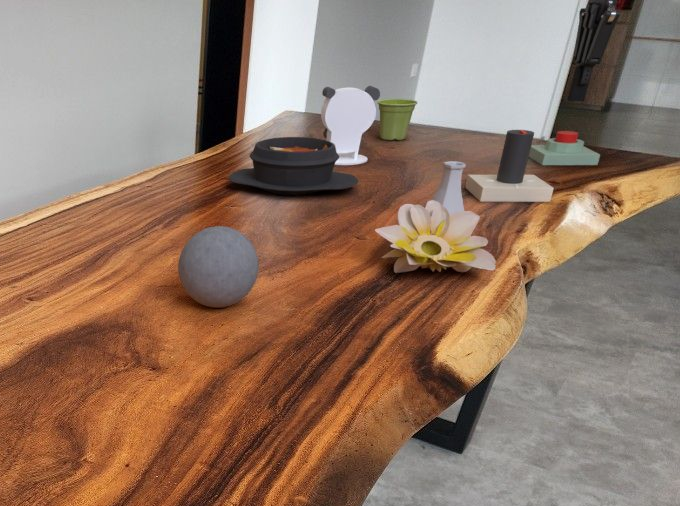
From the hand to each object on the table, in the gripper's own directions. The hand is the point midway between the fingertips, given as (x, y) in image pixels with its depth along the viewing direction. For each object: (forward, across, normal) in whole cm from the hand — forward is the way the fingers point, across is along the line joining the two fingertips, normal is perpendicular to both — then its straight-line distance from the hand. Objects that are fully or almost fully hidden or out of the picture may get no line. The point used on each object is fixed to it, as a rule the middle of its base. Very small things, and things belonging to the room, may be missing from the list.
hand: (575, 100), depth 149 cm
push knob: (+8, 0, 0) cm, 8 cm away
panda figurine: (+12, -1, -46) cm, 47 cm away
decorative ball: (+12, +84, -72) cm, 111 cm away
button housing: (+12, 0, 0) cm, 12 cm away
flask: (+12, +49, -36) cm, 62 cm away
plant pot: (+12, -25, -31) cm, 42 cm away
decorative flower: (+12, +71, -43) cm, 84 cm away
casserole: (+12, +25, -59) cm, 65 cm away
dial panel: (+12, +29, -20) cm, 37 cm away
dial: (+9, +29, -20) cm, 36 cm away
